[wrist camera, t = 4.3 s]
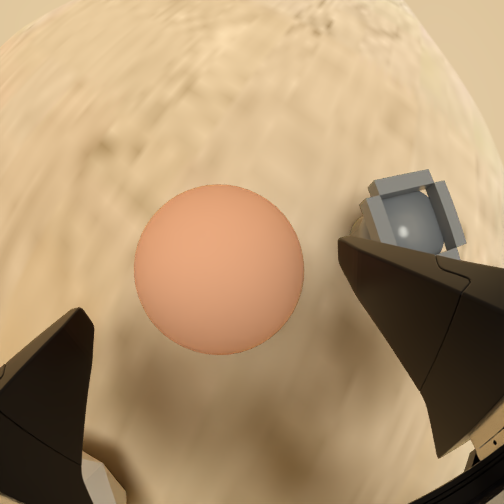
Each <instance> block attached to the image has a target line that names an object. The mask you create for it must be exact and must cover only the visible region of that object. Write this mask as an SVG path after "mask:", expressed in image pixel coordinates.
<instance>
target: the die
mask: <svg viewBox="0 0 504 504" xmlns="http://www.w3.org/2000/svg"><path fill="white" fill-rule="evenodd" d="M82 476H83V480H84V483H85V485H86V488H87V490H88V492H89V495H90V497H91V499H92V501H93V504H127V500H126V491H125V490H124V489H123V487H122V486H121V485H120V484H119V483H118V481H117V480H116V479H115V478H114V477H113V475H112V474H111V473H110V472H109V470H108V469H107V468H106V466H105V465H104V464H103V463H102V462H100V461H98V460H97V459H95V458H93V457H92V456H90V455H88V454H87V453H85V452H84V451H82Z"/></svg>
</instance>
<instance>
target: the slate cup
mask: <svg viewBox="0 0 504 504" xmlns="http://www.w3.org/2000/svg"><path fill="white" fill-rule="evenodd" d="M424 189H426V191H427V194H428V196H429V198H428V197H427V196H426V195H425V194H423V193H422V192H420V190H424ZM368 190H369V193H370V195H371V197H370V198H366V199H365V200H364V201H363V202H362V203H361V204H360V208H361V211H362V214H363V215H362V216H361V217H360V218H359V219H358V220H357V221H356V222H355V223H354V225H353V227H352V229H351V231H350V235H349V236H354V237H359V238H364V239H368V240H373V241H377V242H382V243H386V244H391V245H395V246H400V247H404V248H408V249H413V250H417V251H421V252H426V253H430V254H434V255H435V256H436V255H440V256H444V257H448V258H453V259H457V260H460V257H459V253H458V250H457V247H459V246H461V245H464V244H466V240H465V236H464V233H463V230H462V227H461V224H460V221H459V218H458V215H457V212H456V210H455V207H454V204H453V201H452V199H451V196H450V193H449V191H448V188H447V186H446V183H445V181H440V182H435V183H434V181H433V179H432V176H431V174H430V171H429V169H427V170H422V171H417V172H412V173H407V174H402V175H397V176H392V177H387V178H383V179H378V180H374V181H373V182H372V183H371V184H370V185H369V187H368ZM444 243H445V246H446V250H447V251H444V252H442V253H440V252H441V250H442V247H443V244H444Z"/></svg>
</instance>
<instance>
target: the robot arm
mask: <svg viewBox="0 0 504 504" xmlns="http://www.w3.org/2000/svg"><path fill="white" fill-rule="evenodd" d="M338 260H339V264H340V266H341V268H342V270H343V272H344V274H345V276H346V278H347V280H348V281H349V283H350V285H351V287H352V289H353V291H354V293H355V295H356V296H357V298H358V299H359V301H360V302H361V304H362V305H363V307H364V308H365V310H366V311H367V312H368V314H369V315H370V317H371V318H372V320H373V321H374V323H375V324H376V326H377V327H378V329H379V330H380V331H381V333H382V334H383V336H384V337H385V339H386V340H387V342H388V343H389V345H390V346H391V348H392V349H393V351H394V352H395V354H396V356H397V357H398V359H399V360H400V362H401V363H402V365H403V366H404V368H405V369H406V371H407V372H408V374H409V376H410V377H411V379H412V380H413V382H414V384H415V385H416V387H417V388H418V390H419V391H420V393H421V395H422V397H423V399H424V401H425V403H426V407H427V410H428V415H429V419H430V424H431V428H432V433H433V438H434V443H435V448H436V454H437V457H438V459H439V458H441V457H443V456H445V455H446V454H448V453H450V452H451V451H453V450H455V449H456V448H458V447H460V446H461V445H463V444H464V443H466V442H467V441H469V440H471V442H472V443H473V445H474V447H475V449H474V450H473V451H472V452H470V455H469V458H468V461H467V464H466V467H465V470H464V472H463V473H462V474H460V475H459V476H457V477H455V478H454V479H452V480H451V481H449V482H447V483H445V484H444V485H442V486H440V487H439V488H437V489H435V490H433V491H431V492H430V493H428V494H426V495H424V496H422V497H420V498H418V499H416V500H414V501H412V502H410V503H408V504H504V268H498V267H493V266H488V265H482V264H477V263H472V262H467V261H462V260H457V259H453V258H448V257H444V256H440V255H436V256H435V255H434V254H430V253H426V252H421V251H417V250H413V249H408V248H404V247H400V246H395V245H391V244H386V243H382V242H377V241H373V240H368V239H364V238H359V237H354V236H345V237H342V238H339V240H338ZM93 342H94V325H93V323H92V321H91V320H90V319H89V317H88V316H87V314H86V313H85V311H84V310H83V309H82V308H80V307H78V308H74V309H71V310H70V311H68V312H67V313H66V314H65V315H63V316H62V317H61V318H60V319H58V320H57V321H56V322H55V323H53V324H52V325H51V326H50V327H48V328H47V329H46V330H45V331H44V332H42V333H41V334H40V335H39V336H37V337H36V338H35V339H34V340H33V341H31V342H30V343H29V344H28V345H27V346H26V347H24V348H23V349H22V350H21V351H20V352H18V353H17V354H16V355H15V356H14V357H13V358H11V359H10V360H9V361H8V362H7V363H6V364H4V365H3V366H2V367H1V368H0V504H93V501H92V499H91V497H90V495H89V492H88V490H87V488H86V485H85V483H84V480H83V476H82V450H83V436H84V424H85V414H86V405H87V396H88V389H89V381H90V374H91V368H92V358H93Z"/></svg>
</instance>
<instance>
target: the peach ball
mask: <svg viewBox="0 0 504 504" xmlns="http://www.w3.org/2000/svg"><path fill="white" fill-rule="evenodd" d="M134 278H135V285H136V289H137V293H138V296H139V299H140V301H141V304H142V306H143V308H144V310H145V312H146V314H147V315H148V317H149V318H150V320H151V321H152V322H153V324H154V325H155V326H156V327H157V328H158V329H159V330H160V331H161V332H162V333H163V334H164V335H165V336H167V337H168V338H169V339H171V340H172V341H174V342H175V343H177V344H179V345H181V346H183V347H185V348H188V349H190V350H193V351H196V352H200V353H205V354H213V355H227V354H234V353H239V352H243V351H246V350H249V349H252V348H254V347H256V346H258V345H260V344H262V343H263V342H265V341H266V340H268V339H269V338H271V337H272V336H273V335H274V334H275V333H276V332H278V331H279V330H280V329H281V328H282V326H283V325H284V324H285V323H286V322H287V320H288V319H289V317H290V316H291V314H292V313H293V311H294V309H295V307H296V305H297V303H298V300H299V297H300V294H301V291H302V285H303V280H304V262H303V255H302V250H301V246H300V243H299V240H298V238H297V235H296V233H295V231H294V229H293V227H292V225H291V224H290V222H289V221H288V220H287V218H286V217H285V215H284V214H283V213H282V212H281V211H280V210H279V209H278V208H277V207H276V206H275V205H273V204H272V203H271V202H270V201H268V200H267V199H265V198H264V197H262V196H260V195H258V194H256V193H254V192H252V191H250V190H247V189H244V188H241V187H237V186H231V185H206V186H201V187H196V188H193V189H191V190H188V191H185V192H183V193H181V194H179V195H177V196H175V197H174V198H172V199H171V200H169V201H168V202H167V203H166V204H164V205H163V206H162V207H161V208H160V209H159V210H158V211H157V212H156V213H155V214H154V215H153V217H152V218H151V219H150V221H149V222H148V224H147V225H146V227H145V229H144V231H143V233H142V235H141V237H140V240H139V242H138V245H137V250H136V254H135V261H134Z"/></svg>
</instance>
